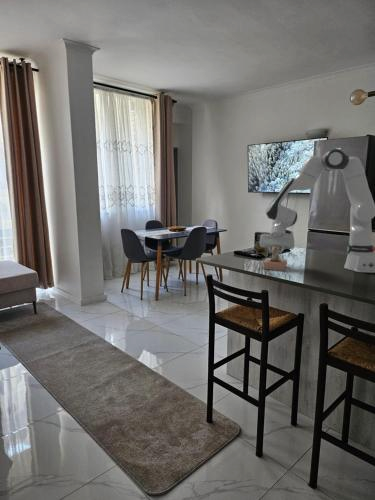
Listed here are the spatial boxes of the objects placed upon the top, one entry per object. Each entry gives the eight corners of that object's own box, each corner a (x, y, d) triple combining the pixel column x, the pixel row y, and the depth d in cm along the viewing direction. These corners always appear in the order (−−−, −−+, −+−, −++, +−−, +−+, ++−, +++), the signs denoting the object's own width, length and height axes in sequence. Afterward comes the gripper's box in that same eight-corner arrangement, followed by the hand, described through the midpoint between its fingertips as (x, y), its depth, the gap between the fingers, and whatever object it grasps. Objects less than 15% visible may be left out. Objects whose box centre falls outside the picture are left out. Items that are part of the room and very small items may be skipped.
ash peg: (278, 261, 203) (279, 246, 201) (278, 262, 199) (278, 247, 198) (272, 260, 204) (272, 246, 203) (271, 262, 201) (271, 247, 199)
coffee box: (253, 255, 235) (254, 232, 232) (256, 254, 240) (256, 231, 237) (266, 257, 231) (267, 233, 228) (269, 255, 236) (270, 232, 233)
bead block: (286, 265, 206) (286, 259, 205) (284, 270, 195) (285, 263, 194) (266, 264, 210) (266, 257, 209) (263, 268, 199) (263, 262, 198)
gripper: (260, 230, 209) (257, 248, 201) (295, 231, 201) (293, 251, 194) (261, 236, 214) (257, 254, 206) (295, 238, 206) (293, 257, 199)
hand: (275, 253), depth 200 cm, fingers closed on ash peg, 4 cm apart
